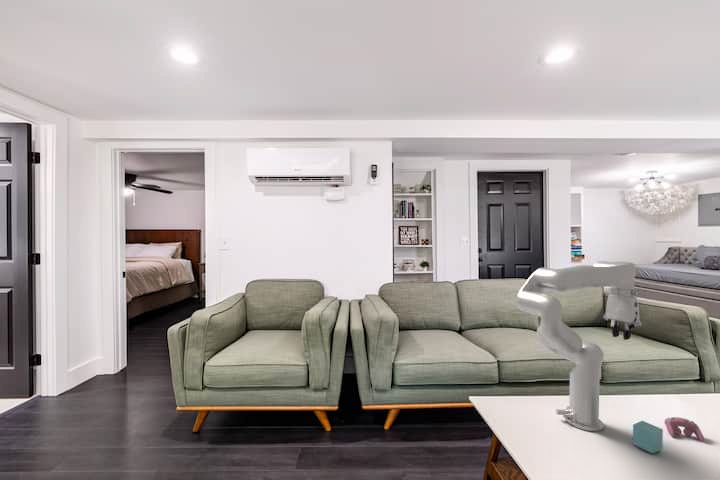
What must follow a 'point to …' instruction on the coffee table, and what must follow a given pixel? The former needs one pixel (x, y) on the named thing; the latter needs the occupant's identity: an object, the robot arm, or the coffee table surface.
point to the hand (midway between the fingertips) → (621, 337)
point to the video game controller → (689, 426)
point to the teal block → (647, 436)
